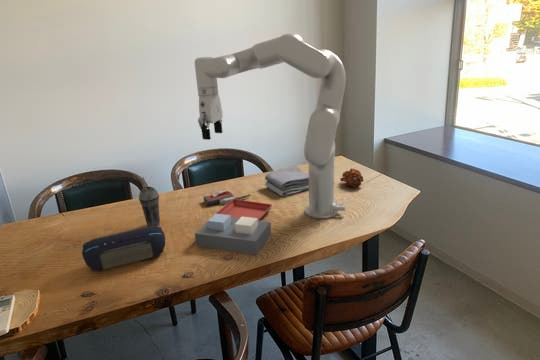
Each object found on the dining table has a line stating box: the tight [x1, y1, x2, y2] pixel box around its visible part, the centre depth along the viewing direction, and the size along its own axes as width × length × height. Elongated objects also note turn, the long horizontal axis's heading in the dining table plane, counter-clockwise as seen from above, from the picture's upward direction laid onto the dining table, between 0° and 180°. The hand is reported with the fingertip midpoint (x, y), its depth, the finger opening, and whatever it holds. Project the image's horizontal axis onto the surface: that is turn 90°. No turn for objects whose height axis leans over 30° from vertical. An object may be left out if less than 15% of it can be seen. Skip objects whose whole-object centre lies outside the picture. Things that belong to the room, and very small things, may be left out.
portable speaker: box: [81, 226, 166, 272], centre depth 127 cm, size 25×10×10 cm, turn 114°
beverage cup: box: [138, 176, 161, 227], centre depth 148 cm, size 7×7×20 cm
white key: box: [235, 217, 258, 235], centre depth 134 cm, size 6×6×5 cm
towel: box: [264, 165, 309, 197], centre depth 179 cm, size 15×18×8 cm
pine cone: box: [339, 167, 364, 188], centre depth 178 cm, size 8×8×12 cm
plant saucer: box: [212, 199, 273, 221], centre depth 154 cm, size 18×18×3 cm
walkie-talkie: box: [203, 189, 252, 208], centre depth 170 cm, size 9×4×20 cm
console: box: [194, 217, 272, 256], centre depth 137 cm, size 22×14×5 cm, turn 70°
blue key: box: [207, 213, 231, 231], centre depth 137 cm, size 6×6×5 cm
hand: (212, 136), depth 156 cm, fingers open, 9 cm apart
